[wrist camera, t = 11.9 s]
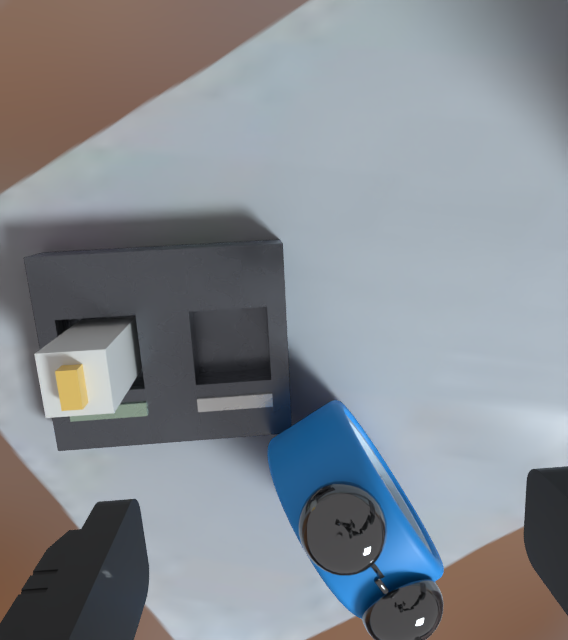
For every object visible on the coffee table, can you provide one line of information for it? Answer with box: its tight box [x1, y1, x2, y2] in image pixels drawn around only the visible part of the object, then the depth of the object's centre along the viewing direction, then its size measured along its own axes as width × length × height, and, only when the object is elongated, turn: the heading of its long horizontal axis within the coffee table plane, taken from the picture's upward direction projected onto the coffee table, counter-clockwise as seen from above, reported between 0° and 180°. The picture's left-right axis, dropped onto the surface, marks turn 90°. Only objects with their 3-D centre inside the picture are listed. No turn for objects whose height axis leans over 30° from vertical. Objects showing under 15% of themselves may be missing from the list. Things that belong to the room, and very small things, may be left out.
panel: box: [24, 240, 292, 451], centre depth 36 cm, size 17×14×3 cm
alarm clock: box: [268, 400, 444, 640], centre depth 33 cm, size 13×6×15 cm, turn 33°
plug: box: [34, 317, 142, 418], centre depth 32 cm, size 4×4×9 cm
